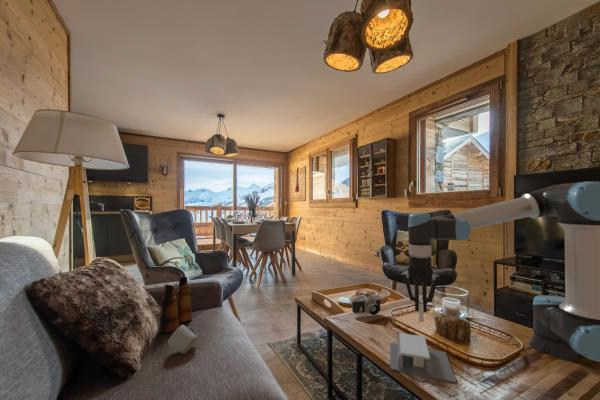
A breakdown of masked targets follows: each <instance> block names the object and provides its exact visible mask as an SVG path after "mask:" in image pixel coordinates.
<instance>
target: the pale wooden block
mask: <svg viewBox="0 0 600 400" xmlns="http://www.w3.org/2000/svg"><path fill="white" fill-rule="evenodd" d="M412 361H413V366H417V367H422V368H424V359H422V358H417V357H412Z"/></svg>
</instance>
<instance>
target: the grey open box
mask: <svg viewBox="0 0 600 400" xmlns="http://www.w3.org/2000/svg"><path fill="white" fill-rule="evenodd" d="M399 333H401V331H400V330H396V342H392V341H391V342H390V348H389V349H390V370H391V371H393V372H400V373H405V374H408V375H412V376H413V375H414V376H418V377H419V376H420V377H423V378H428V379H433V380H438V381H442V382H447V383H452V384H457V380H456V376H455V373H454V371H453V369H452V366H451V363H450V361H449V358H448V355H447V353H446V351H443V350H442V351H440V350H435V349H430V348H428V352H429V356H430V360H428V359H424V368H422V367H417V366H413V361H412V357H411V356H405V355H401V352H400V338H399ZM425 340H426V341H427V339H426V338H425Z"/></svg>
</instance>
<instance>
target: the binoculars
mask: <svg viewBox="0 0 600 400" xmlns="http://www.w3.org/2000/svg"><path fill="white" fill-rule="evenodd" d="M177 288H178V289H177V291H175V287H174V286H173V285H171V284H165V285H164V294H163V297H162V299H161V308H160V316H159V327H158V331H159V332H160V333H162V334H163V333H171V332H175V331H176V330H177V329H178V328H179V327H180V323H184V322H187V321H189V320H191V319H192V318H193V313H192V311H193V310H192V302H191V300H192V299H191V290H190V288H189V285H188V277H187V276H181V278H180V279H179V281H178V286H177Z"/></svg>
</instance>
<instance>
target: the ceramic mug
mask: <svg viewBox="0 0 600 400" xmlns="http://www.w3.org/2000/svg"><path fill="white" fill-rule="evenodd" d="M197 337H198V330H197V329H196V328H194V327H193V326H186V325H185V324H181V325H179V328H178V329H176V330H174V331H173V333H172V335H171V336H170V337H169V338H168V340H167V343H168V344H169V345H170V346H171V347H172V348H174V349H175V350H177V351H178V352H179V353H180V354H183V355H186V354H187V353H188V352H189V351H190V350H191V349H192V347H193V346H194V345H195V343H196V342H197V340H198V339H197Z"/></svg>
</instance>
